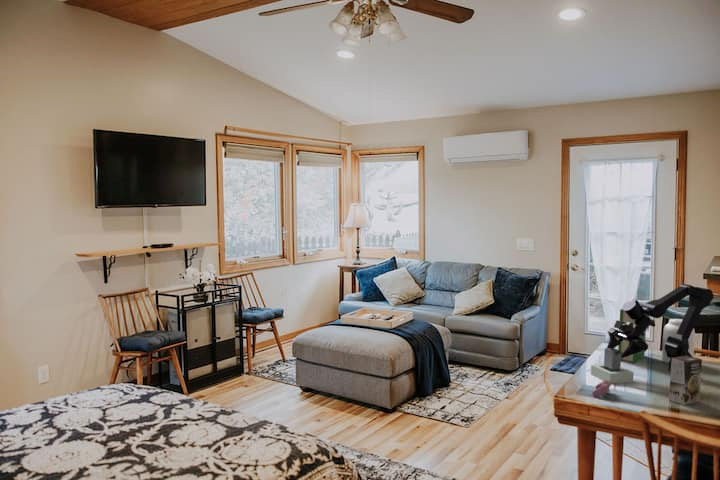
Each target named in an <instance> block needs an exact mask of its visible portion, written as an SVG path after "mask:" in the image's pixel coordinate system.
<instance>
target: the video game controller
mask: <svg viewBox="0 0 720 480" xmlns="http://www.w3.org/2000/svg"><path fill="white" fill-rule="evenodd" d="M611 384H613V383H612V382H611V381H610V380H607V379H606V380H602V381H601V382H599V383H598V384H597V385H595V390H593V391H592V393H591V394H592V397H595V398H598V397H601V396H602V397H604V396H605V395H606V393H610V392H611V390H610V387H611V386H612V385H611Z"/></svg>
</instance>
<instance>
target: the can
mask: <svg viewBox="0 0 720 480" xmlns="http://www.w3.org/2000/svg"><path fill="white" fill-rule="evenodd" d="M682 320H683V318H670V319H669V320H668V323H667V324H665V325H664V327H663V334H662V335H663V336H662V354H661V359H662V361H663V362H664V363H666V364H668V365H669V361H670V357H667V353H666V351H665V345H666V344H665V343H666V341H667V339H668V337H669V336H671V337H673V336H674V335H676V333H677V331H678V329H679V327H680V324H681V322H682ZM695 337H696V332H695V327H694V328H693V330H692V332H691V335H690V337H689V339H688V342H689V349H688V352H689V353H690V354H691V355H692V357H694V355H695V341H696V339H695Z"/></svg>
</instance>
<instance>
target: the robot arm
mask: <svg viewBox="0 0 720 480" xmlns="http://www.w3.org/2000/svg"><path fill="white" fill-rule="evenodd" d="M714 296H715V295H714V293H713V291H712V290H711V289H709V288H704V287H700V286H699V287H698V286H694V285H691V284H686V283H682V284H680V285H679V286H678V287H676V288H675V289H673V290H671V291H669V292H668V293H667V294H665V295H664V296H662V297H661V298H658V299H654V300H649V301H648V302H645V303H644V304H642V305H641V303H640V302H639V300H638V299H635V298H633V299H631V300H629V301H627V302H624V304H622V307H621V309H623V310H624V312H625V313H626V314H627V315H628V316H629V317H630V319H632V320H634V321H633V322H632V323H630V322H627V323H624V322H621V321H620V320H615V323H614V326H613V327H612V328H609V329H608V331H607V333H608V336H609V341H608V343H607V347H606V348H614V349H616V347H617V348H618V345H619V344H621V343H620V342H622V341H623V340H625V341H628V342H629V346H628V347H627V348H626V350H625V351H624V352H623V354H622V355H621V357H622V358H625V357H627V356H630V355H632V354H635V353H638V352H642V351H645V352H647V350H648V349H649V344H648V343H647V341H646V340H645V341H644V340H643V339H642V338H640V336H644V335H645V334H644V333H643V332H644V331H645V330H647V329H648V328H649V327H653V328H654V327H656V322H655V319H660V318H662V317H663V316H664V315H665V314H666V313H667V311H668V309H669V308H671V307H672V306H674V305H675V304H676V303H678V302H680V301H681V300H683V299H684V298H686V297H688V302H689V304H688V308H687V310H686V312H685V314H684V316H683V318H682V319H683V320H682V322H681V324H680V327H679V329H678V331H677V333H676V335H674V336H673V337H671V336H669V337H668V339H667V341H666V343H665V344H666V345H665V351H666V353H667V357H670V361H669V364H668V368H667V371H668V372H669V373H670V374H671V362H672V358H674V357H680V356H690V357H692V355H691V354H690V353H689V352H688V349H689V342H688V339H689V337H690V335H691V332H692V330H693V328H694V329H695V327H696V324H697V321H698V320H699V318H700V315H701V313H702V312H703V310H704V309H705V308H707V307H708V306H709V305H710V304H711V303H712V301H713V299H714ZM651 317H652V318H654V319H652V318H651ZM619 329H620V332H621V333H623V334H621V333H620V332H619Z"/></svg>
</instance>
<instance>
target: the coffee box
mask: <svg viewBox="0 0 720 480" xmlns="http://www.w3.org/2000/svg"><path fill="white" fill-rule="evenodd" d="M702 365H703V359H702V358H700V357H699V358H698V357H690V356H680V357H674V358H672V362H671V373H670V376H669V377H670V378H669V395H668V400H669V401H672V402H674V403H678V404H680V405H683V406H688V405H691V404H696V403H699V402H700V401H701V400H700V399H701V398H700V396H701V382H702V381H701V380H702V367H703V366H702Z"/></svg>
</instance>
